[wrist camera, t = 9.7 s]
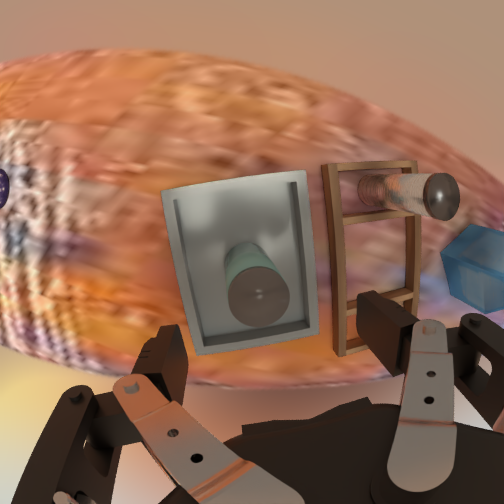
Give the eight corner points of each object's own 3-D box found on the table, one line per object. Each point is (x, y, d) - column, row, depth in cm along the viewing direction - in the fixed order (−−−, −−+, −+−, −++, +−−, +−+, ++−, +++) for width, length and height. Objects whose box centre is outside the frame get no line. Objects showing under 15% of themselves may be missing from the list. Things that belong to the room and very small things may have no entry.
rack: (407, 161, 23) (416, 160, 21) (407, 327, 27) (414, 333, 26) (321, 165, 22) (327, 164, 21) (333, 349, 26) (338, 357, 25)
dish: (297, 171, 22) (305, 169, 20) (311, 322, 25) (319, 333, 23) (166, 190, 21) (160, 190, 19) (198, 342, 25) (196, 355, 22)
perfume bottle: (440, 252, 26) (523, 286, 14) (470, 223, 25) (549, 245, 14) (450, 294, 27) (521, 336, 16) (479, 265, 27) (548, 295, 15)
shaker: (265, 239, 22) (287, 264, 16) (271, 281, 23) (293, 321, 16) (220, 246, 22) (222, 275, 15) (228, 289, 23) (233, 332, 16)
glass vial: (382, 173, 23) (458, 172, 14) (385, 204, 24) (460, 218, 14) (355, 174, 23) (428, 173, 13) (359, 207, 23) (430, 223, 14)
